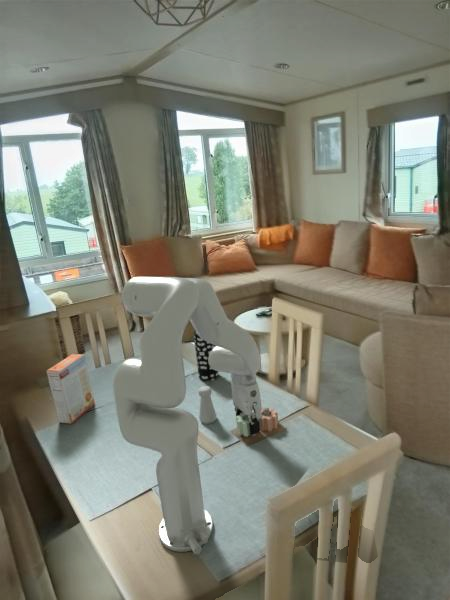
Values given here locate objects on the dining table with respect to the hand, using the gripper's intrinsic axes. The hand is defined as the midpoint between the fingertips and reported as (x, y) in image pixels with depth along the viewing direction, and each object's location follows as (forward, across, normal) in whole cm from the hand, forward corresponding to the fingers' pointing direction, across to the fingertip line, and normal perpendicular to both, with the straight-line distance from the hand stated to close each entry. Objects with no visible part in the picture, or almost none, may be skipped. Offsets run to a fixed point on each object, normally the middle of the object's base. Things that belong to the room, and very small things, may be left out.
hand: (247, 427), depth 128 cm
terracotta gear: (+2, 0, -7) cm, 8 cm away
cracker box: (+4, +51, +42) cm, 66 cm away
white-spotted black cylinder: (+4, +45, -10) cm, 46 cm away
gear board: (+4, 0, -4) cm, 5 cm away
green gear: (+1, 0, 0) cm, 1 cm away
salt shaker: (+4, +15, +6) cm, 17 cm away
